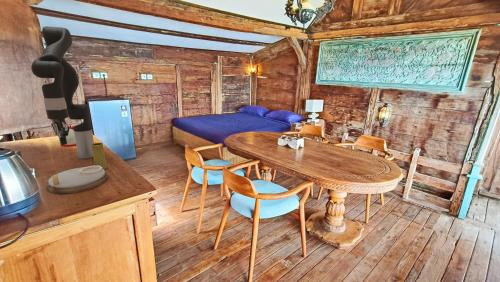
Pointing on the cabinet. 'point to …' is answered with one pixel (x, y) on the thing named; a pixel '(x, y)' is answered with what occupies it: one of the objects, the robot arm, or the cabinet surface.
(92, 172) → the turntable
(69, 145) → the kitchen timer
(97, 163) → the vase
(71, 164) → the cabinet surface
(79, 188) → the turntable base
